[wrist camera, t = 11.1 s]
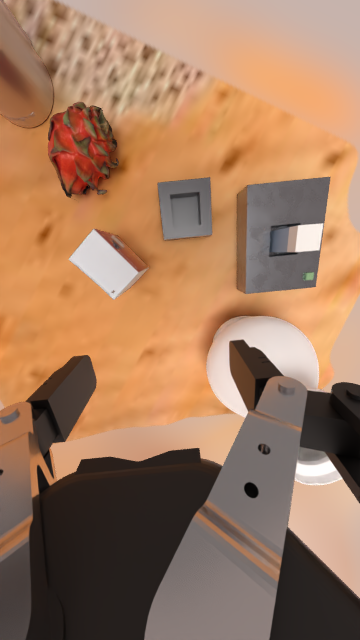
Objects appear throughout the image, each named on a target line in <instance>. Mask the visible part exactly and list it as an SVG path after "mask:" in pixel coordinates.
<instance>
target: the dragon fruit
mask: <svg viewBox="0 0 360 640" xmlns="http://www.w3.org/2000/svg"><path fill="white" fill-rule="evenodd" d="M101 109H102V108H99V107H96V106H90V107H86V106H85V104H84V103H83V102H77V103H75V104H73V106H70V107H68V109H67V111H66V112H63V113H57V114H55V115H53V117H52V118H51V119H50V128H49V133H48V140H49V143H48V155H49V158H50V160H51V162H52V164H53V165H54V167H55V169H56V171H57V174H58V177H59V180H60V181H61V186H62V188H63V190H64V191H65V193H66V196H68V197H70V198H71V196H72V195H71V194H76V195H77V194H86V191H87V190H88V189H90V187H91V188H92V190H94V189H95V190H96V191H98V193H97V194H102V195H103V194H105V193H106V192H107V190H99V189H98V179H99V177H102V178H103V179H108V178H109V168H108V167H111V168H115V167H117V166H118V164H119V162H118V159H117V158H116V161H117V163H114V162H112V160H111V159H110V156H109V152H112V151H114V150H115V149H116V147H117V142H116V140H114V139H112V137H113V135H112V129H111V126H110V125H109V123H108V121H107V120H106V119H105V117H104V115H103V112H102V111H103V110H101ZM88 186H89V187H88ZM75 200H76V199H75Z"/></svg>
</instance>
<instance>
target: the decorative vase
mask: <svg viewBox="0 0 360 640" xmlns="http://www.w3.org/2000/svg"><path fill="white" fill-rule="evenodd" d="M242 339H243V340H244V341H245V342H246V343H247V344H248V346H249V347H255V348H257V349H259V350H261V351H262V352H263V353H264V354H265V355H266V356H267V358H269V360H270V361H271V362H272V363H273V364H274V365H275V366H276V368H277V369H278V370H279V371H280V372H281V373H282V374H283V375H284V376H286V377H290V378H293V379H296V380H298V381H299V382H301V383H302V384H303V385H304V386H305V387H306V388H307V390H310V391H317V392H325V391H323V390H321V389H318V388H317V387H318V381H319V366H318V360H317V356H316V353H315V350H314V348H313V346H312V344H311V342H310V341H309V339H308V338H307V337H306V336H305V335H304V334H303V333H302V332H301V331H300V330H299V329H298V328H297V327H295V326H294V325H292V324H291V323H289V322H287V321H285V320H282V319H279V318H275V317H270V316H254V317H251V316H238V317H235V318H232V319H230V320H228V321H226V322H225V323H224V324H222V325H221V326H220V327H219V329H218V330H217V332H216V333H215V335H214V338H213V344H212V345H211V348H210V350H209V353H208V357H207V363H206V370H207V376H208V380H209V383H210V386H211V388H212V390H213V392H214V393H215V395H216V396H217V398H218V399H219V400H220V401H221V402H222V403H223V404H224V405H225V406H226V407H228V408H229V409H230V410H232V411H233V412H235V413H237V414H239V415H241V416H243V417H245V418H246V416H247V413H248V410H247V408H246V406H245V404H244V402H243V400H242V397H241V395H240V393H239V391H238V389H237V387H236V384H235V382H234V380H233V378H232V376H231V372H230V366H229V342H230V341H232V340H242ZM326 393H327V392H326ZM340 479H342V477H341V475H340V474H339V472H338V471H337V469H336V468H335V466H334V465H333V464H332V462H331V461H330V459H329V458H328V456H327V455H326V453H325V452H323V451H318V450H313V449H308V448H303V447H299V454H298V461H297V467H296V474H295V480H296V481H298V482H300V483H303V484H307V485H323V484H329V483H332V482H335V481H338V480H340Z"/></svg>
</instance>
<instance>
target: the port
mask: <svg viewBox="0 0 360 640" xmlns="http://www.w3.org/2000/svg"><path fill="white" fill-rule="evenodd" d="M329 184H330V177H323V178H313V179H303V180H293V181H284V182H274V183H264V184H254V185H247V186H246V187H245V188H244V189H243V190H242V191H241V192H240V193H238V194H237V289H238V290H240V291H242V292H243V293H245V294H250V293H260V292H270V291H281V290H291V289H301V288H311V287H316V280H317V272H318V265H319V257H320V250H321V243H322V236H321V243H320V250H316V251H303V252H269V248H270V231H274V230H279V229H284V228H288V227H293V226H298V225H309V224H322V223H323V228H324V221H325V213H326V206H327V199H328V191H329ZM322 235H323V230H322Z"/></svg>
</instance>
